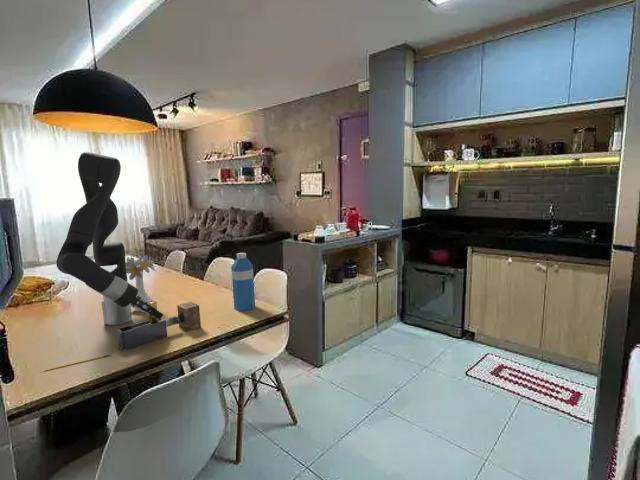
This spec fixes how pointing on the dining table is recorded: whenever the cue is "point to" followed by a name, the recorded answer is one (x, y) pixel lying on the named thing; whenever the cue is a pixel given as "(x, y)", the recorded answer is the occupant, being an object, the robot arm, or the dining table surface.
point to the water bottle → (243, 283)
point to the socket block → (189, 316)
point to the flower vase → (139, 274)
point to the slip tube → (169, 321)
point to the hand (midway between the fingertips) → (159, 315)
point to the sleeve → (141, 334)
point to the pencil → (77, 363)
